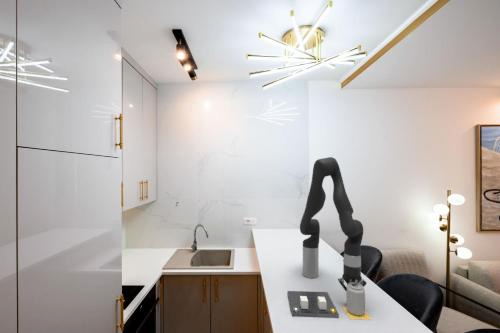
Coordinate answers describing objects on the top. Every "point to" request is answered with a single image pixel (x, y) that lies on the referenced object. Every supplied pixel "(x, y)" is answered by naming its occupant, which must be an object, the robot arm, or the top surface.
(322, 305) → the block
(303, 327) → the top surface
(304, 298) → the block
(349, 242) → the robot arm
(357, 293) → the can
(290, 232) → the top surface
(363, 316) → the pad
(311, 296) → the panel
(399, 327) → the top surface
